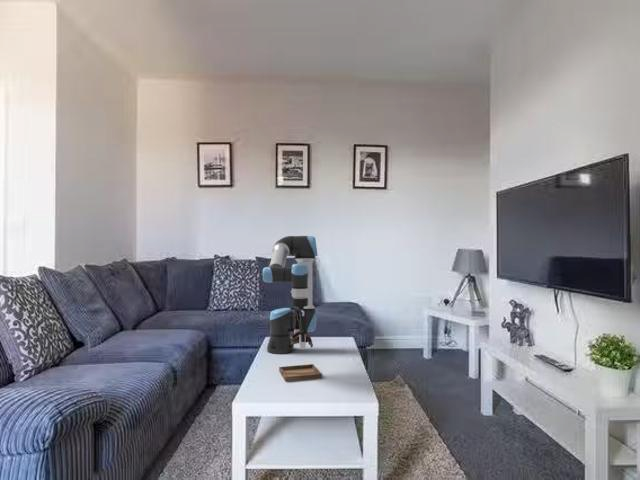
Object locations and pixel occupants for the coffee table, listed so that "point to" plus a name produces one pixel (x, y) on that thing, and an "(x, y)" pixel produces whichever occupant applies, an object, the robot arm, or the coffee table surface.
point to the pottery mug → (296, 340)
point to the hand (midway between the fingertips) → (299, 345)
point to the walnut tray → (300, 372)
